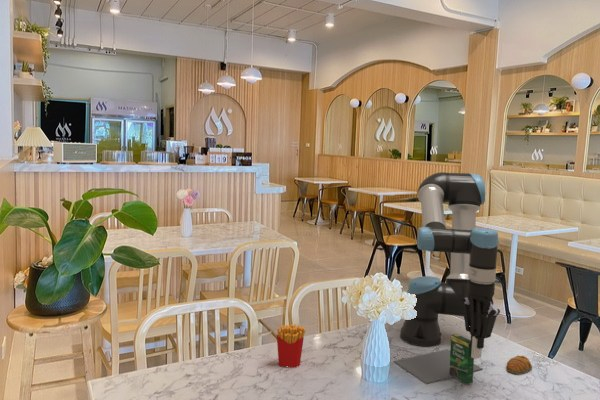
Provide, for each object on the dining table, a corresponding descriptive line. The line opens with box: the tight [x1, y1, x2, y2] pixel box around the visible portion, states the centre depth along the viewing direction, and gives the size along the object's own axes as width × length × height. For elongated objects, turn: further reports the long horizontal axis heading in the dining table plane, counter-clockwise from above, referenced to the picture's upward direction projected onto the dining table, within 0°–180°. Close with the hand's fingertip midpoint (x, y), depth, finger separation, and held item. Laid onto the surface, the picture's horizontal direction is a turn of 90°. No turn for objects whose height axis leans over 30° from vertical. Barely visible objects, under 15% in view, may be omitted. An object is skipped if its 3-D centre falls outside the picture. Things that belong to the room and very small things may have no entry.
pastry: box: [505, 355, 533, 375], centre depth 156 cm, size 9×7×4 cm
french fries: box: [276, 323, 306, 368], centre depth 153 cm, size 9×4×13 cm, turn 92°
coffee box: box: [449, 333, 475, 385], centre depth 147 cm, size 8×3×13 cm, turn 24°
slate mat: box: [393, 348, 484, 385], centre depth 157 cm, size 16×24×1 cm, turn 117°
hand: (476, 357), depth 142 cm, fingers closed
